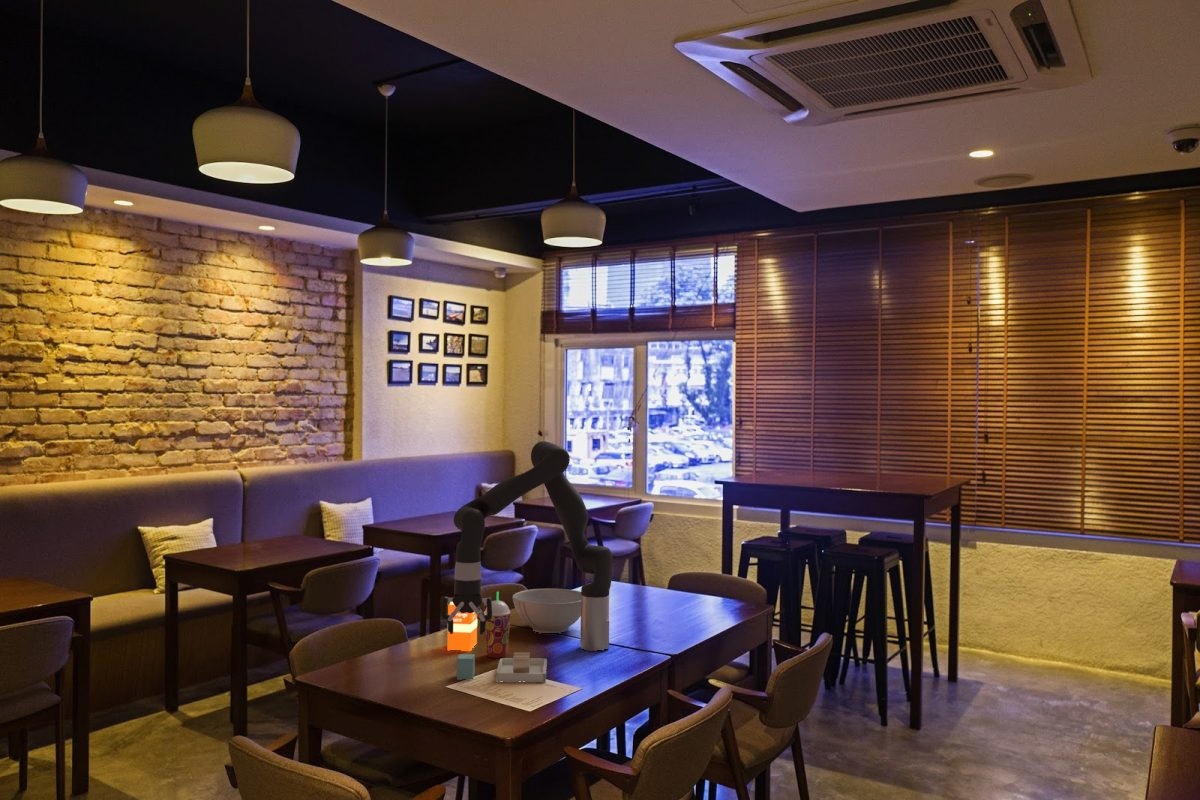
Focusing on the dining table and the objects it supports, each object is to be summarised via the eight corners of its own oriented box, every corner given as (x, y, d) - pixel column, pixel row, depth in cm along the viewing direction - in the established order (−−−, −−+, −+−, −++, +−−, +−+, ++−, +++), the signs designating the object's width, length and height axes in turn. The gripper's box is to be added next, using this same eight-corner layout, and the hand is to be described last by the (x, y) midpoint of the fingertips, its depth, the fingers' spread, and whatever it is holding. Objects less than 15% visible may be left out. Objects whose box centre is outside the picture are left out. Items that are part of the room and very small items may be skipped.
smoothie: (494, 650, 282) (495, 588, 282) (515, 654, 278) (516, 591, 278) (477, 656, 275) (478, 592, 275) (499, 660, 270) (500, 595, 271)
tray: (546, 666, 265) (546, 658, 265) (545, 682, 249) (545, 673, 249) (500, 666, 264) (500, 658, 264) (495, 682, 248) (495, 673, 248)
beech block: (529, 677, 250) (529, 656, 251) (513, 677, 250) (513, 656, 250) (529, 673, 255) (529, 652, 255) (513, 673, 255) (514, 652, 255)
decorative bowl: (499, 635, 302) (500, 600, 302) (528, 619, 327) (529, 586, 328) (573, 642, 294) (574, 606, 294) (597, 624, 320) (597, 591, 320)
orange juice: (477, 644, 290) (478, 583, 290) (470, 651, 281) (471, 588, 281) (453, 643, 290) (455, 582, 291) (446, 650, 282) (447, 587, 282)
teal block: (474, 675, 255) (474, 654, 255) (472, 679, 251) (473, 658, 251) (458, 675, 255) (459, 654, 255) (456, 679, 251) (457, 658, 251)
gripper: (441, 579, 249) (439, 636, 249) (491, 579, 250) (490, 637, 250) (444, 574, 257) (443, 630, 257) (493, 575, 258) (492, 630, 257)
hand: (466, 633), depth 253 cm, fingers open, 8 cm apart
